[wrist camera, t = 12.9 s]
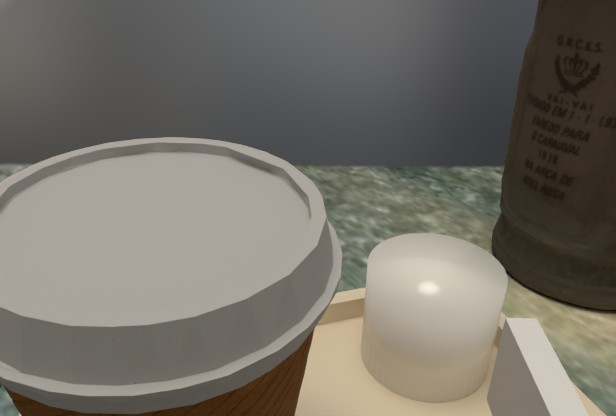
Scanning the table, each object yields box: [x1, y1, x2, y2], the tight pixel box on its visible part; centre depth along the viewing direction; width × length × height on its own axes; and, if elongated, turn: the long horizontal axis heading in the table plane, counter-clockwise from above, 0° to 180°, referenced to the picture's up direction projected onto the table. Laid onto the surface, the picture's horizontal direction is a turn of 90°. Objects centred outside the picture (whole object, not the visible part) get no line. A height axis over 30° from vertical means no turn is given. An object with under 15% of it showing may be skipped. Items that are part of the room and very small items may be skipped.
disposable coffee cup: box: [0, 137, 342, 416], centre depth 17 cm, size 10×10×12 cm
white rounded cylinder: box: [361, 233, 508, 403], centre depth 25 cm, size 6×6×5 cm
